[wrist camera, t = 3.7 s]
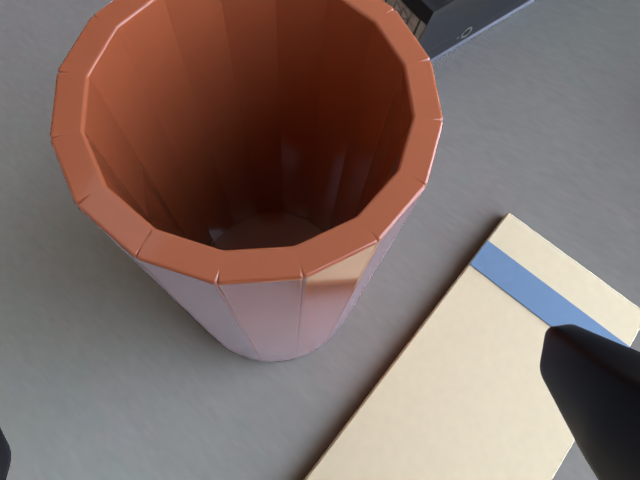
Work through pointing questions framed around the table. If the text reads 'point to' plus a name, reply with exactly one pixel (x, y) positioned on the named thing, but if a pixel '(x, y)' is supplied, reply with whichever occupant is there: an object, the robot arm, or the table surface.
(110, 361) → the table surface
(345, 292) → the pot
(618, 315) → the towel
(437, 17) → the portable cd player
